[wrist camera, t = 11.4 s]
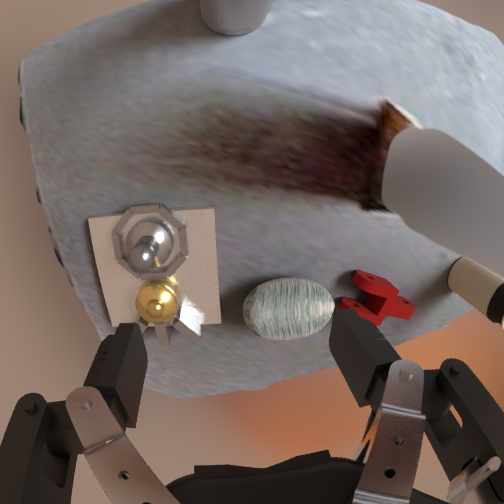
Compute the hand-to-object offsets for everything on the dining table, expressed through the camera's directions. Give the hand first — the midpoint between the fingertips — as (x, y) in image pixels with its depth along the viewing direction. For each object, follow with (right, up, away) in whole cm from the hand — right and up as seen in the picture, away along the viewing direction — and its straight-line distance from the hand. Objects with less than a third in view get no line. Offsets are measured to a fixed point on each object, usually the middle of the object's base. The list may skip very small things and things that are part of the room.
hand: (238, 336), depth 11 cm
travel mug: (+46, -1, +39) cm, 61 cm away
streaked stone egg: (+5, -3, +35) cm, 35 cm away
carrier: (-13, +1, +30) cm, 33 cm away
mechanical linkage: (+23, -4, +38) cm, 45 cm away
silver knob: (-13, +5, +26) cm, 30 cm away
